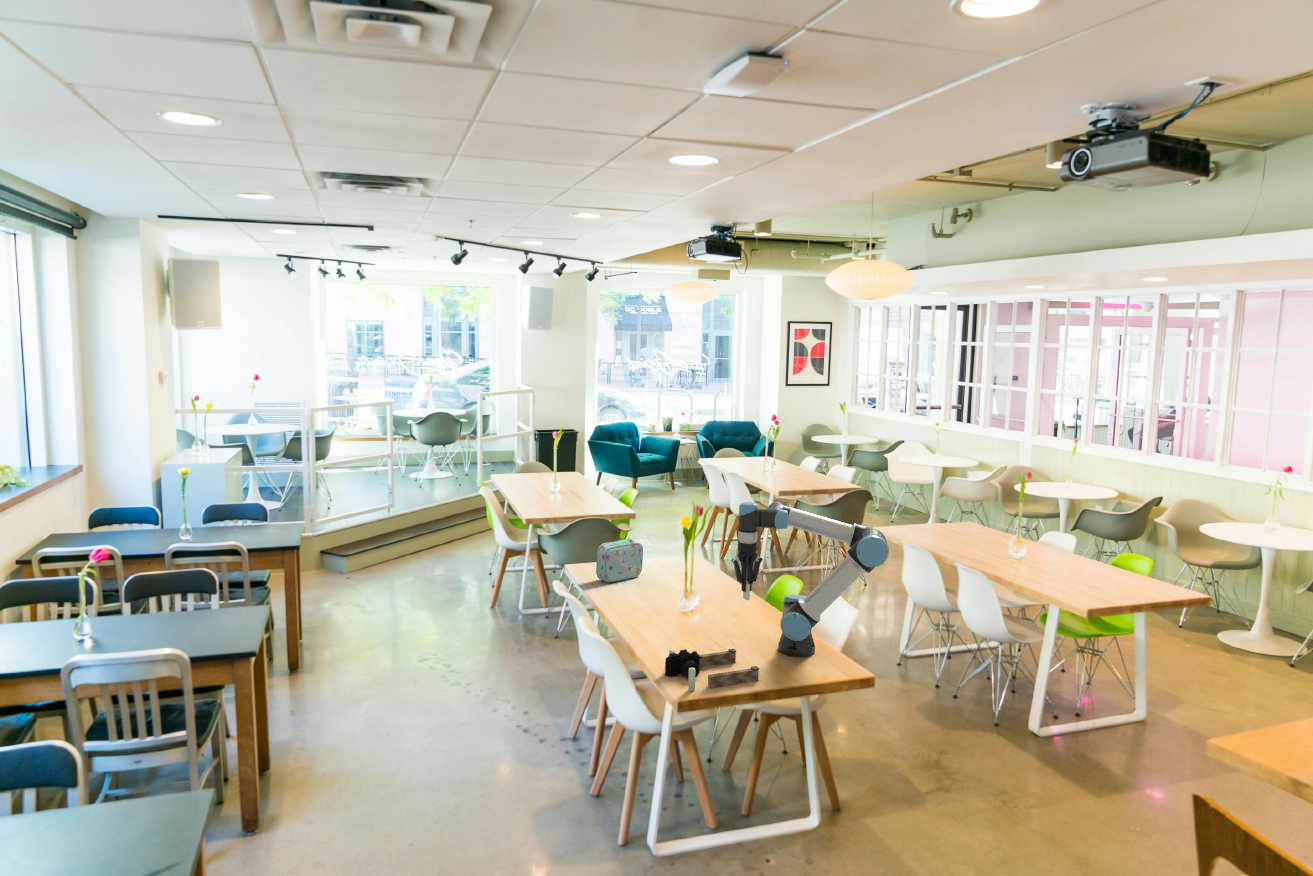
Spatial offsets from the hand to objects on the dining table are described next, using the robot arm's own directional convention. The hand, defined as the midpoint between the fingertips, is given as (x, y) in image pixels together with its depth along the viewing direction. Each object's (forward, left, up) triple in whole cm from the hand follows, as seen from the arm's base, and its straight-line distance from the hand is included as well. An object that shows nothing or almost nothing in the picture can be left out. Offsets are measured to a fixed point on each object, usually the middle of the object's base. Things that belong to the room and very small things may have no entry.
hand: (746, 599), depth 331 cm
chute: (+16, +12, -24) cm, 32 cm away
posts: (+33, +12, -24) cm, 43 cm away
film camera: (+30, +8, -25) cm, 39 cm away
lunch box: (+11, -124, -25) cm, 127 cm away
